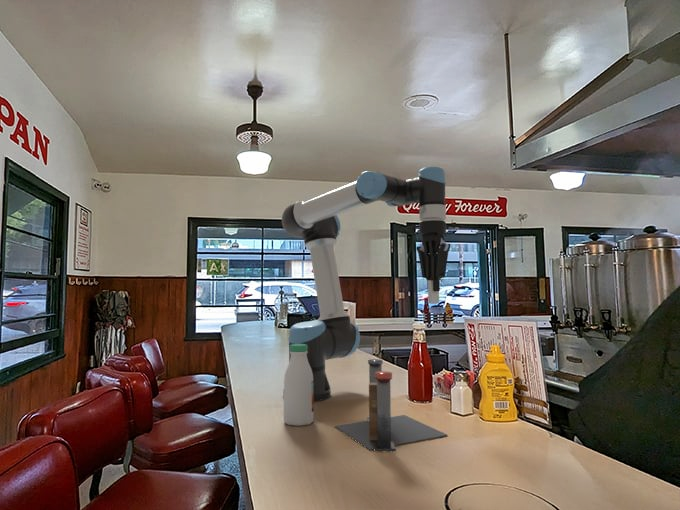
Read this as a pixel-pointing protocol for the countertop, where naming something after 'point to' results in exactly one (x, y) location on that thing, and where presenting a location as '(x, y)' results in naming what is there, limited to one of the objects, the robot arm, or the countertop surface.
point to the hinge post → (374, 366)
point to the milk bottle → (298, 388)
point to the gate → (372, 411)
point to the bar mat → (392, 431)
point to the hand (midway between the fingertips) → (433, 302)
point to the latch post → (383, 412)
